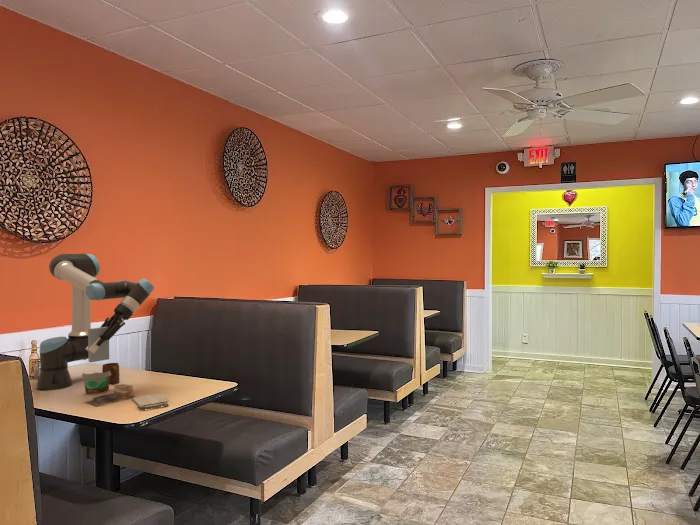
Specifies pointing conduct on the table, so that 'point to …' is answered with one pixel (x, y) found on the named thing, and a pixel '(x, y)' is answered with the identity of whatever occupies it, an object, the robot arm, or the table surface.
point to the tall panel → (103, 350)
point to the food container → (96, 382)
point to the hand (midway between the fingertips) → (89, 351)
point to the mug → (112, 372)
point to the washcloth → (150, 401)
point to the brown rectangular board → (105, 400)
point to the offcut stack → (124, 391)
